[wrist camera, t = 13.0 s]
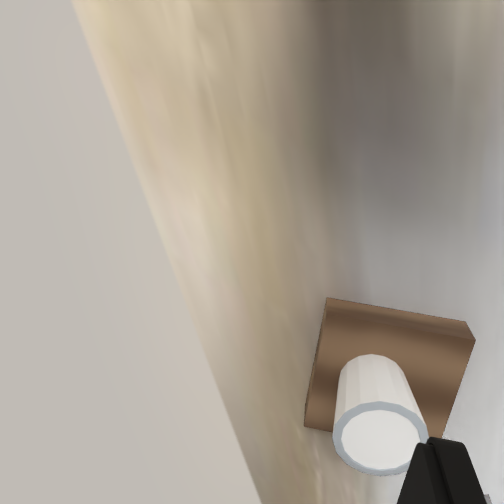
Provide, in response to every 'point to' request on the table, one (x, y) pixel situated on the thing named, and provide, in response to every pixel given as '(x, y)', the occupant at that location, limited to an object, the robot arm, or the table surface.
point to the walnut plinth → (390, 357)
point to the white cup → (376, 417)
